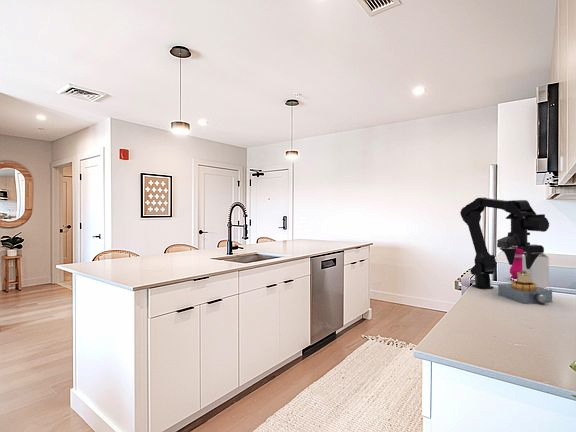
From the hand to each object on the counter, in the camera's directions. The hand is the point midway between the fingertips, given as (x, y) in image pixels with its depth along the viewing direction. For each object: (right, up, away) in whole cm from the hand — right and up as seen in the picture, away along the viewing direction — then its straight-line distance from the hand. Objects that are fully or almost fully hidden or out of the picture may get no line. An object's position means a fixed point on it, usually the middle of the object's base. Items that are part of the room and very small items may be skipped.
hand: (519, 266), depth 138 cm
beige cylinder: (+1, -8, -2) cm, 8 cm away
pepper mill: (+20, -12, +28) cm, 36 cm away
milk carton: (+16, -12, +12) cm, 23 cm away
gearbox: (+1, -13, -3) cm, 13 cm away
